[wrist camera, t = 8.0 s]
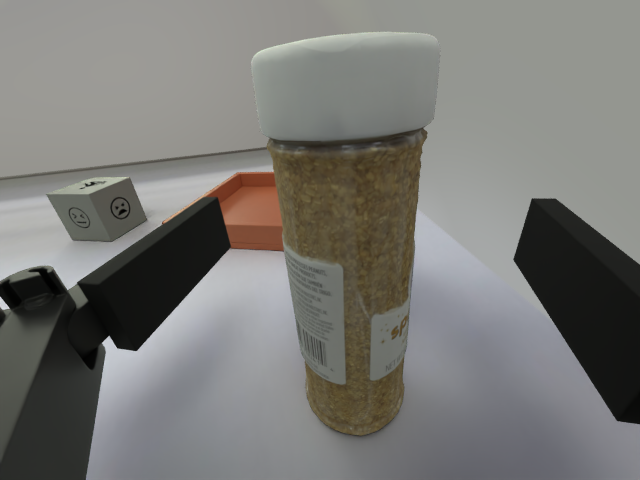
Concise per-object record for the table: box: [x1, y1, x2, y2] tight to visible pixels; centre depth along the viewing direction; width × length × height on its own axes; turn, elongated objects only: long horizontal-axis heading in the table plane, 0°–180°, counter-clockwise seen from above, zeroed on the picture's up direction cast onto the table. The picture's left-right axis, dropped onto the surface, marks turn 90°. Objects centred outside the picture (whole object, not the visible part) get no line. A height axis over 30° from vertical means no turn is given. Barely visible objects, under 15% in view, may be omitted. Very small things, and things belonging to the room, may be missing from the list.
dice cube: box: [46, 177, 147, 241], centre depth 30 cm, size 5×5×5 cm
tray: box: [162, 172, 284, 251], centre depth 31 cm, size 15×15×2 cm
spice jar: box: [251, 32, 440, 436], centre depth 10 cm, size 5×5×13 cm
